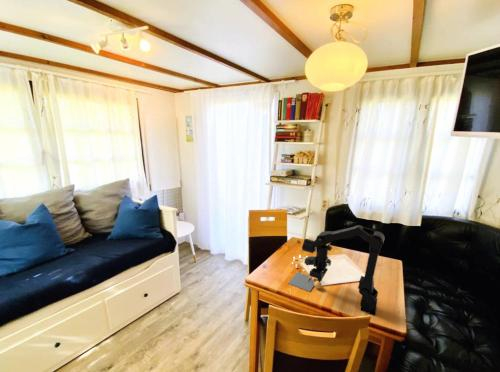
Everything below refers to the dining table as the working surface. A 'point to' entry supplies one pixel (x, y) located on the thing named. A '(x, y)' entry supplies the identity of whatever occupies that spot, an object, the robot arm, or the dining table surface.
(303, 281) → the mat
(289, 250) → the dining table surface
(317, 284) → the figurine
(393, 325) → the dining table surface
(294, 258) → the game piece set
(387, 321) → the dining table surface
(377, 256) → the robot arm
